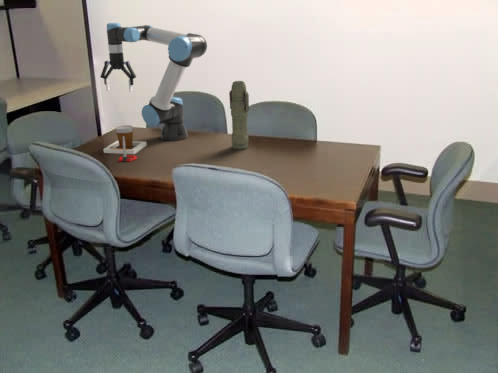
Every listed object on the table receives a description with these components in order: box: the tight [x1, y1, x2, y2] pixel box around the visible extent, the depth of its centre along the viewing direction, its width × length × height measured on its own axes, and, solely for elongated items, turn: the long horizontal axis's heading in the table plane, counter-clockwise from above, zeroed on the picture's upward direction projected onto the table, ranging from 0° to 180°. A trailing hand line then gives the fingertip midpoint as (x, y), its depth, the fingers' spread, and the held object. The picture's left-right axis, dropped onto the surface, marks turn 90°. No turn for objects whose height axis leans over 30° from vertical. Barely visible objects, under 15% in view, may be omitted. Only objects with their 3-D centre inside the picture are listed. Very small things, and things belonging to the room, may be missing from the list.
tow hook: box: [118, 136, 138, 163], centre depth 278 cm, size 8×13×9 cm
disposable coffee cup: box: [115, 124, 134, 149], centre depth 295 cm, size 10×10×12 cm
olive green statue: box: [228, 80, 250, 150], centre depth 290 cm, size 9×12×35 cm
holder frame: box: [103, 140, 148, 155], centre depth 297 cm, size 17×17×2 cm
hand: (119, 90), depth 312 cm, fingers open, 13 cm apart
